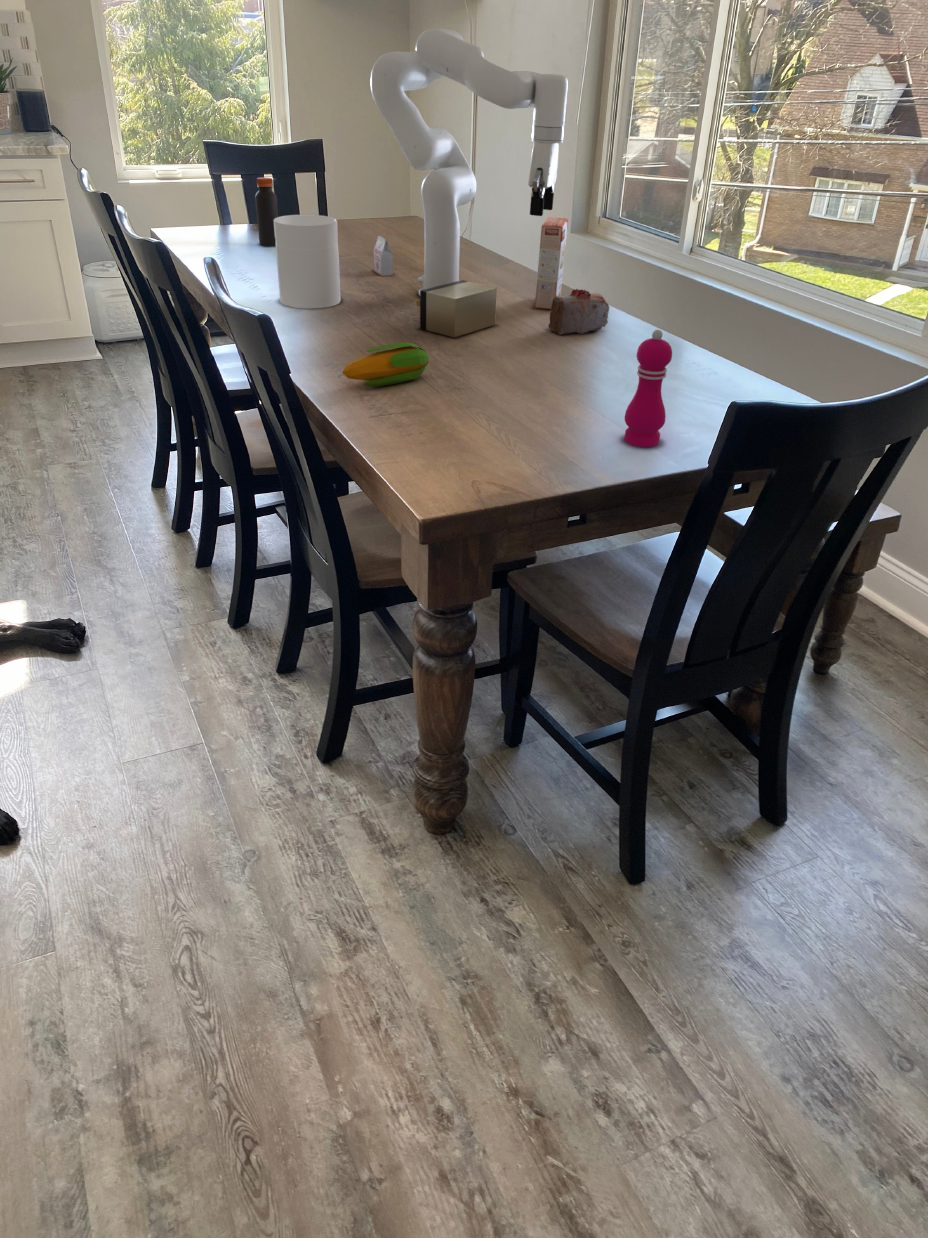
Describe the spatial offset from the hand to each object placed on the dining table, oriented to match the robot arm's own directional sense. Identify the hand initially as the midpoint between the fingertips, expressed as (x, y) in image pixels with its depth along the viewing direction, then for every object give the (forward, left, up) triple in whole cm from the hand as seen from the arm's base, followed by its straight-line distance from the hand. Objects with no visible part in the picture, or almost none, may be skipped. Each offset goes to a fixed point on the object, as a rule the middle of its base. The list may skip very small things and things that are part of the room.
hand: (541, 212), depth 222 cm
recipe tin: (-3, -27, -24) cm, 36 cm away
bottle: (-112, -13, -25) cm, 116 cm away
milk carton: (-58, -6, -25) cm, 63 cm away
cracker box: (-4, +10, -25) cm, 27 cm away
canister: (-42, -42, -25) cm, 65 cm away
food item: (+19, -3, -25) cm, 31 cm away
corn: (+23, -65, -25) cm, 73 cm away
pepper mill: (+76, -47, -25) cm, 93 cm away
